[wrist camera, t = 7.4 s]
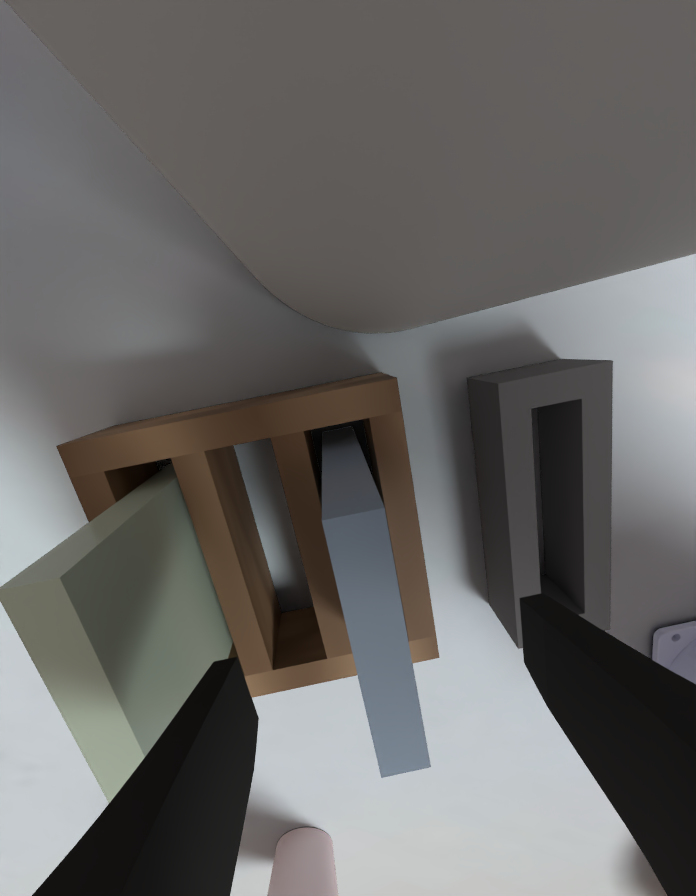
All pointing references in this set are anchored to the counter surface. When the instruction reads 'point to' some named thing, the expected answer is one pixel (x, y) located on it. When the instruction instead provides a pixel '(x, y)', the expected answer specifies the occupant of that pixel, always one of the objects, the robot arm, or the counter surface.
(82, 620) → the thin sage green tile
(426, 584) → the rack
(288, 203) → the cylinder vase
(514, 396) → the stand
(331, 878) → the smoothie
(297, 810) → the counter surface
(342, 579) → the blue grey tile
